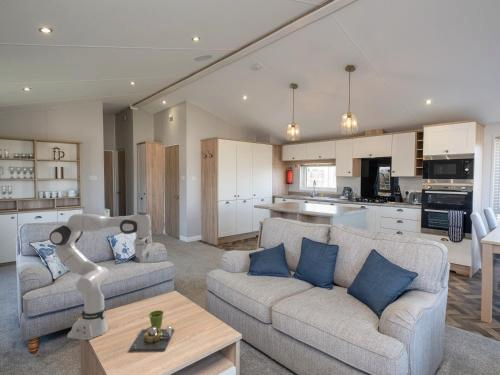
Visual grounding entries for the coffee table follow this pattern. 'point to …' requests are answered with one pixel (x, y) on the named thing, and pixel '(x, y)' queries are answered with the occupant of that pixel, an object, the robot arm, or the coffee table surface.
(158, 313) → the plant pot
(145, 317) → the coffee table surface
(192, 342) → the coffee table surface
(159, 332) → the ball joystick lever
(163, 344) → the flange plate
